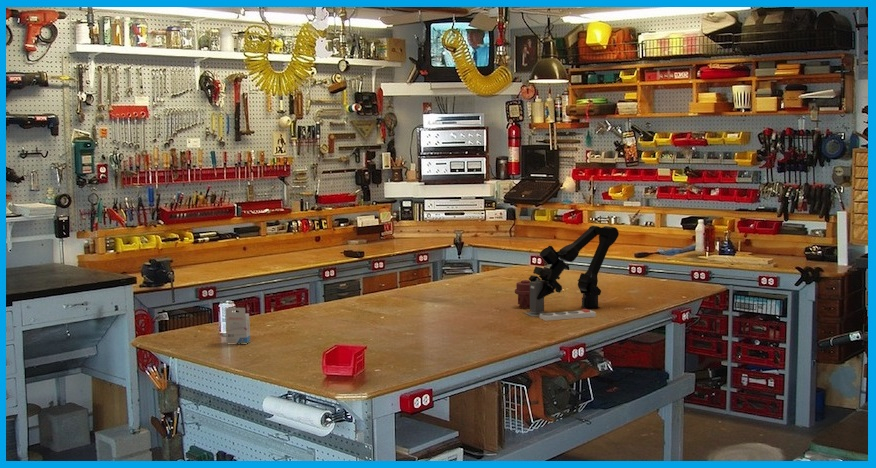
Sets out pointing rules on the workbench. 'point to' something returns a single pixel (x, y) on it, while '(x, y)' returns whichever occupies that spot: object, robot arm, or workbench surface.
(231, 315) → the ink box
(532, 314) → the mat
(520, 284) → the mechanical component
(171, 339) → the workbench surface
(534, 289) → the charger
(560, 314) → the power strip
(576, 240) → the robot arm
